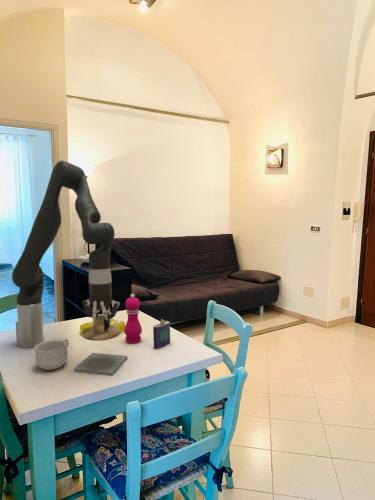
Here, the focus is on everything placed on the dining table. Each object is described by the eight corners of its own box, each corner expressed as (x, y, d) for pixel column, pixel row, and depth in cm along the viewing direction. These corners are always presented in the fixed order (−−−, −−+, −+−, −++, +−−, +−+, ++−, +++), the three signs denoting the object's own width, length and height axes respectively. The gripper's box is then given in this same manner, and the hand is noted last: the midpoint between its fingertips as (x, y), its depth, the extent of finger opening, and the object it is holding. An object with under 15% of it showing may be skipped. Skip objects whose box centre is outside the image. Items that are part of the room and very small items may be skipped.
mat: (73, 371, 127) (73, 368, 126) (92, 355, 140) (92, 352, 140) (112, 375, 124) (112, 372, 124) (127, 358, 137) (127, 355, 137)
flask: (166, 341, 155) (166, 316, 153) (172, 342, 153) (172, 317, 151) (151, 348, 147) (151, 322, 146) (157, 350, 146) (157, 323, 144)
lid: (75, 339, 125) (74, 322, 125) (92, 326, 138) (91, 310, 137) (111, 341, 123) (111, 324, 122) (125, 328, 135) (125, 312, 135)
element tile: (102, 325, 175) (102, 315, 174) (127, 331, 167) (127, 321, 167) (78, 335, 162) (77, 324, 162) (103, 342, 155) (103, 330, 154)
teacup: (48, 376, 123) (47, 353, 122) (28, 368, 129) (27, 346, 128) (81, 361, 135) (80, 339, 134) (61, 354, 141) (60, 334, 140)
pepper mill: (121, 342, 153) (120, 295, 150) (130, 336, 159) (129, 291, 157) (136, 345, 150) (135, 296, 147) (145, 339, 157) (144, 292, 154)
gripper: (76, 282, 126) (78, 331, 128) (115, 284, 123) (116, 334, 126) (86, 277, 133) (88, 324, 136) (123, 279, 131) (124, 326, 133)
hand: (101, 328), depth 131 cm, fingers closed on lid, 3 cm apart
